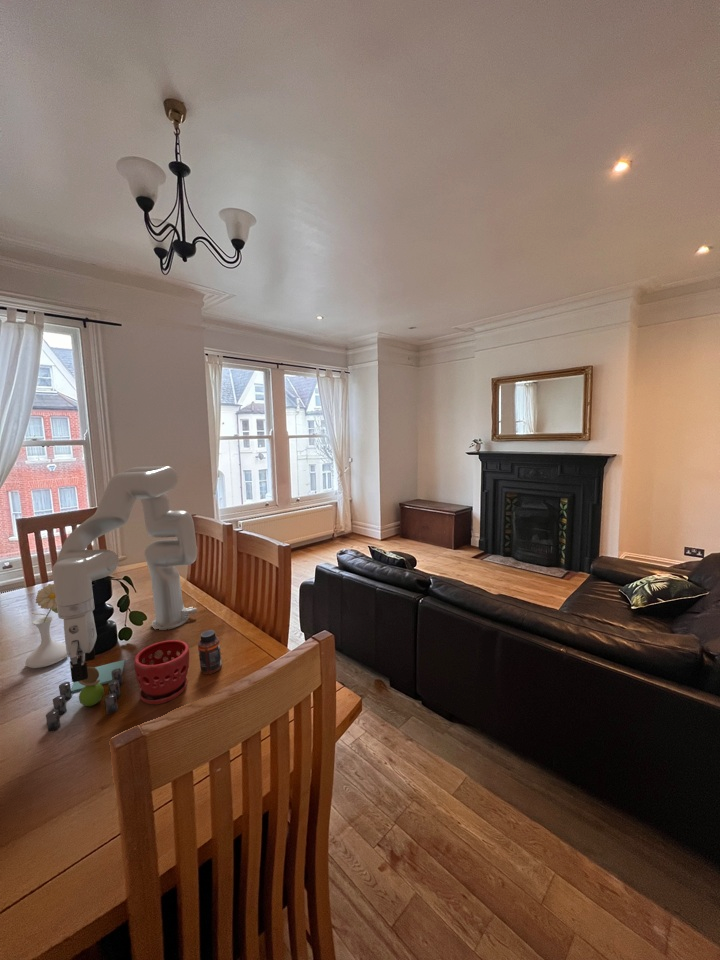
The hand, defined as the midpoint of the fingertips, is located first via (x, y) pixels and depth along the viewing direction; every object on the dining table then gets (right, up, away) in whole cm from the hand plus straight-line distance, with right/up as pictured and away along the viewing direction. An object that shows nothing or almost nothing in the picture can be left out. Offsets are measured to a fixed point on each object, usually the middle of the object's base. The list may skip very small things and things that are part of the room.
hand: (84, 669), depth 100 cm
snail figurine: (0, -10, +2) cm, 10 cm away
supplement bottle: (+27, -7, +15) cm, 32 cm away
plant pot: (+19, -9, +5) cm, 21 cm away
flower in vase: (-27, -9, +23) cm, 36 cm away
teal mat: (-5, -9, +14) cm, 17 cm away
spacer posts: (0, -10, +2) cm, 10 cm away
